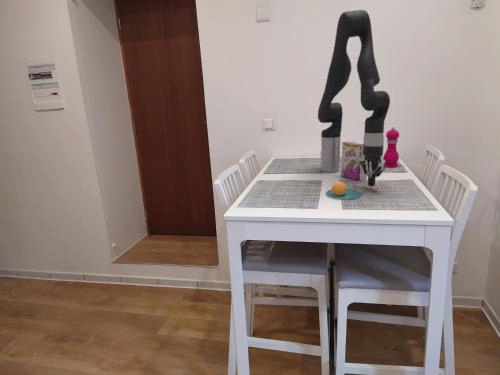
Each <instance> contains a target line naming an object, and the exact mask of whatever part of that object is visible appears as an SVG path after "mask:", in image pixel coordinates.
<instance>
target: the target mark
mask: <svg viewBox="0 0 500 375" xmlns="http://www.w3.org/2000/svg"><path fill="white" fill-rule="evenodd" d="M346 188H347V187H346ZM325 196H326V197H328V198H331V199H335V200H341V201H342V200H343V201H346V200H347V201H351V200H356V199H359V198H361V197H362V196H363V193H362V192H361V191H360V190H357V189H354V188H347V190H346V192H345V194H344V195H341V196H337V195H335V194H334V193H333V192H332V188H331V189H329V190H327V191H326V192H325Z"/></svg>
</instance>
